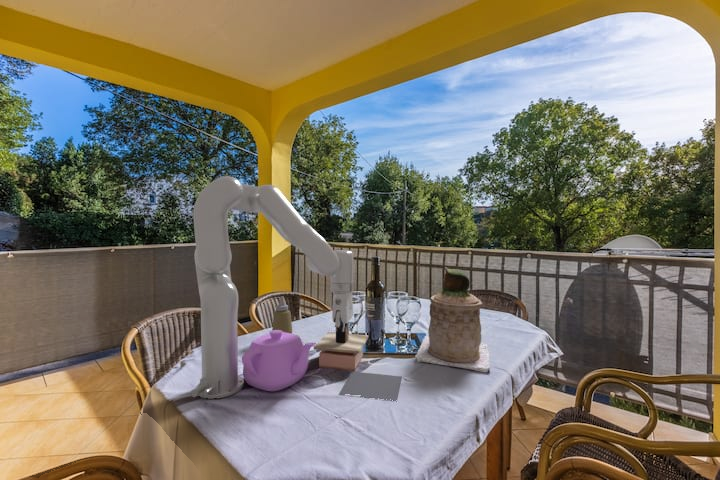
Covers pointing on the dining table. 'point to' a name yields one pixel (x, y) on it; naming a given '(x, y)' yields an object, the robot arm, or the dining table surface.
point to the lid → (350, 346)
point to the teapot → (275, 361)
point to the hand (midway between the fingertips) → (342, 340)
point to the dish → (340, 360)
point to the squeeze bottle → (282, 317)
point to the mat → (372, 385)
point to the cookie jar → (455, 327)
